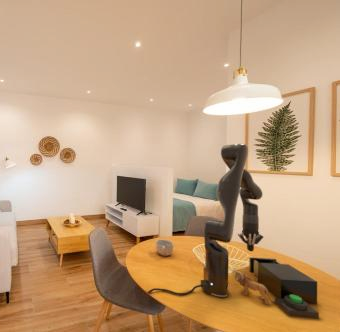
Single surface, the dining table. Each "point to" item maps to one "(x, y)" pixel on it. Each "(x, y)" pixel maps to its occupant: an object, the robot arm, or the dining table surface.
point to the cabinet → (287, 282)
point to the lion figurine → (252, 286)
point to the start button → (296, 299)
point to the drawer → (254, 262)
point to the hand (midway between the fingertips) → (250, 250)
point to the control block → (296, 308)
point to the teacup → (164, 247)
